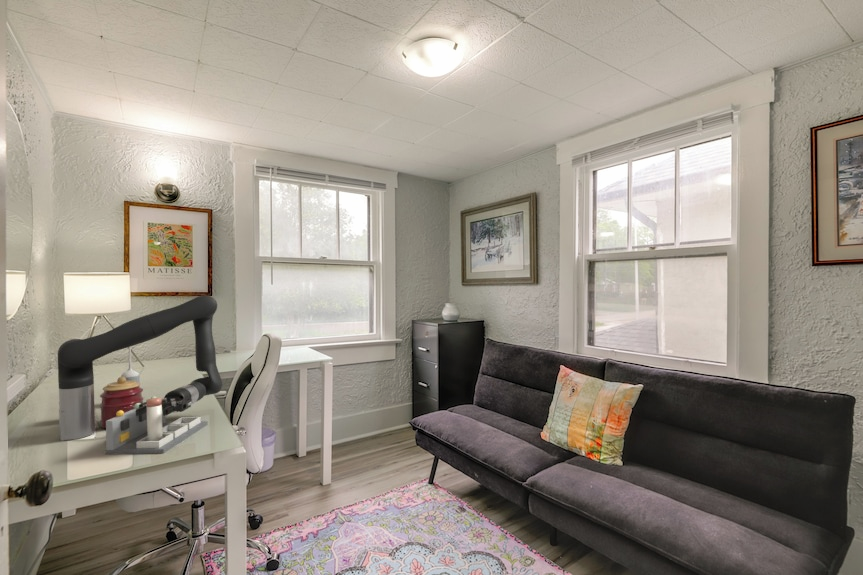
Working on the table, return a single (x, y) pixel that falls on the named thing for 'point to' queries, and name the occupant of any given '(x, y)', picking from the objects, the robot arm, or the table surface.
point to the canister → (119, 398)
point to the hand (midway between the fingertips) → (150, 412)
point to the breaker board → (132, 437)
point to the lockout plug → (154, 419)
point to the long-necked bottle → (131, 371)
